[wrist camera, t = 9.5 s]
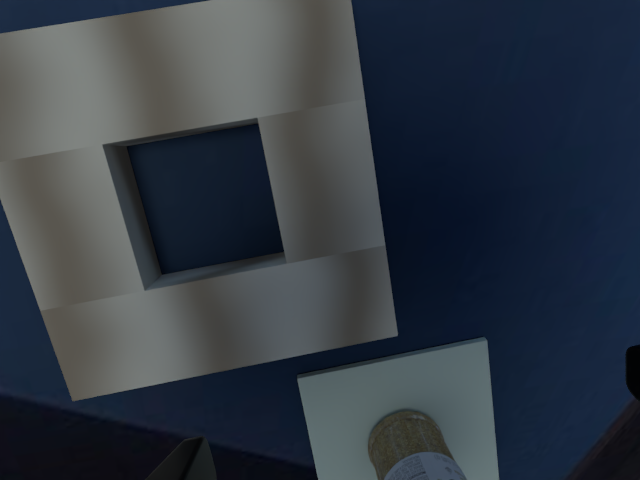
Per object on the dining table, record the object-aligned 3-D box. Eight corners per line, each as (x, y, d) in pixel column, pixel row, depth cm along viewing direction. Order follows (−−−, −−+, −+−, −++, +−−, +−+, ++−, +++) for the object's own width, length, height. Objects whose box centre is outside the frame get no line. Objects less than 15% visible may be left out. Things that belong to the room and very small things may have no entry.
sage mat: (483, 337, 22) (487, 340, 22) (497, 492, 25) (500, 497, 24) (297, 374, 22) (297, 378, 21) (329, 529, 24) (329, 535, 24)
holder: (339, 2, 18) (347, -22, 16) (385, 315, 22) (397, 335, 19) (-8, 58, 17) (-56, 42, 15) (97, 372, 21) (72, 401, 18)
